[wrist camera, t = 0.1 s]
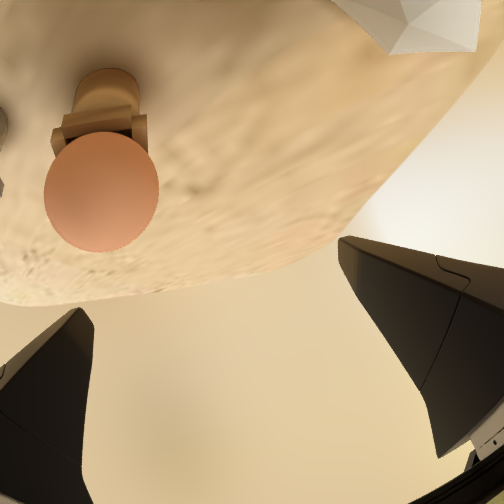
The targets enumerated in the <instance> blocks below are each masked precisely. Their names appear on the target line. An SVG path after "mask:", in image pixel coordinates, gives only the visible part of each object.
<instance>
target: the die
mask: <svg viewBox="0 0 504 504" xmlns="http://www.w3.org/2000/svg"><path fill="white" fill-rule="evenodd" d="M331 1H332V2H333V3H335V4H336V5H337V6H338V7H339V8H341V9H342V10H343V11H344V12H345V13H346V14H347V15H348V16H350V17H351V18H352V19H353V20H354V21H355V22H356V23H357V24H358V25H359V26H360V27H361V28H362V29H364V30H365V31H366V32H367V33H368V34H369V35H370V36H371V37H372V38H373V39H374V40H375V41H376V42H377V43H378V44H379V45H380V46H381V48H382V49H383V50H384V51H385V52H386V53H387V54H388V55H393V54H405V53H421V52H476V46H477V39H478V32H479V23H480V14H481V2H482V0H331Z"/></svg>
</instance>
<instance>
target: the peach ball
mask: <svg viewBox="0 0 504 504" xmlns="http://www.w3.org/2000/svg"><path fill="white" fill-rule="evenodd" d="M158 196H159V182H158V176H157V172H156V169H155V166H154V164H153V162H152V160H151V158H150V157H149V155H148V154H147V152H146V151H145V150H144V149H143V148H142V147H141V146H140V145H139V144H138V143H136V142H135V141H133V140H132V139H130V138H129V137H126V136H124V135H121V134H118V133H113V132H95V133H90V134H87V135H84V136H81V137H79V138H77V139H76V140H74V141H72V142H71V143H69V144H68V145H67V146H66V147H65V148H64V149H63V150H62V151H61V152H60V153H59V154H58V155H57V157H56V158H55V160H54V161H53V163H52V165H51V167H50V169H49V171H48V174H47V177H46V182H45V186H44V203H45V208H46V212H47V216H48V218H49V220H50V222H51V224H52V226H53V227H54V229H55V230H56V232H57V233H58V234H59V235H60V236H61V237H62V238H63V239H64V240H65V241H66V242H68V243H69V244H71V245H72V246H74V247H76V248H79V249H81V250H84V251H89V252H108V251H113V250H117V249H119V248H122V247H124V246H126V245H128V244H129V243H131V242H132V241H133V240H135V239H136V238H137V237H138V236H139V235H140V234H141V233H142V232H143V231H144V230H145V229H146V227H147V226H148V224H149V223H150V221H151V219H152V217H153V215H154V213H155V210H156V206H157V202H158Z"/></svg>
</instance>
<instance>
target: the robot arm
mask: <svg viewBox="0 0 504 504" xmlns="http://www.w3.org/2000/svg"><path fill="white" fill-rule="evenodd" d="M338 260H339V264H340V266H341V268H342V270H343V272H344V274H345V276H346V278H347V280H348V281H349V283H350V285H351V287H352V289H353V291H354V293H355V295H356V296H357V298H358V299H359V301H360V302H361V304H362V305H363V306H364V308H365V310H366V311H367V312H368V314H369V315H370V317H371V318H372V320H373V321H374V322H375V324H376V326H377V327H378V329H379V330H380V331H381V333H382V334H383V336H384V337H385V339H386V340H387V342H388V343H389V345H390V346H391V348H392V349H393V351H394V352H395V354H396V355H397V357H398V358H399V360H400V362H401V363H402V365H403V366H404V368H405V369H406V371H407V372H408V374H409V376H410V377H411V379H412V380H413V382H414V384H415V385H416V387H417V388H418V390H419V391H420V393H421V395H422V397H423V399H424V401H425V403H426V407H427V410H428V415H429V419H430V423H431V428H432V433H433V438H434V443H435V448H436V454H437V457H438V458H441V457H443V456H445V455H446V454H448V453H450V452H451V451H453V450H455V449H456V448H458V447H459V446H461V445H463V444H464V443H466V442H467V441H469V440H471V441H472V443H473V445H474V447H475V449H474V450H473V451H472V452H471V453H470V455H469V458H468V461H467V464H466V467H465V470H464V472H463V473H462V474H460V475H459V476H457V477H455V478H454V479H452V480H451V481H449V482H447V483H445V484H444V485H442V486H440V487H439V488H437V489H435V490H433V491H431V492H430V493H428V494H426V495H424V496H422V497H421V498H418V499H416V500H414V501H412V502H410V503H408V504H504V269H503V268H498V267H493V266H487V265H482V264H477V263H472V262H467V261H462V260H456V259H452V258H448V257H444V256H440V255H436V256H435V255H434V254H430V253H426V252H421V251H417V250H412V249H408V248H404V247H400V246H395V245H391V244H386V243H382V242H377V241H373V240H368V239H364V238H359V237H354V236H346V237H342V238H339V240H338ZM93 341H94V325H93V323H92V321H91V320H90V319H89V317H88V316H87V314H86V313H85V311H84V310H83V309H82V308H80V307H78V308H74V309H71V310H70V311H68V312H67V313H66V314H65V315H63V316H62V317H61V318H60V319H58V320H57V321H56V322H55V323H53V324H52V325H51V326H50V327H49V328H47V329H46V330H45V331H44V332H42V333H41V334H40V335H39V336H38V337H36V338H35V339H34V340H33V341H32V342H30V343H29V344H28V345H27V346H26V347H24V348H23V349H22V350H21V351H20V352H18V353H17V354H16V355H15V356H14V357H13V358H12V359H10V360H9V361H8V362H7V363H6V364H4V365H3V366H2V367H1V368H0V504H93V501H92V499H91V497H90V495H89V493H88V490H87V488H86V485H85V483H84V480H83V476H82V467H81V466H82V450H83V436H84V424H85V414H86V413H85V412H86V405H87V396H88V388H89V381H90V374H91V368H92V358H93Z"/></svg>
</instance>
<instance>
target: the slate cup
mask: <svg viewBox="0 0 504 504" xmlns="http://www.w3.org/2000/svg"><path fill="white" fill-rule="evenodd" d="M7 129H8V120H7V116H6V114H5V113H4V111H3V110H2V109H1V108H0V150H1V147H2V144H3V141H4V138H5V135H6V132H7ZM3 187H4V184H3V182H2V180H1V178H0V198H1V197H2V192H3Z"/></svg>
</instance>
